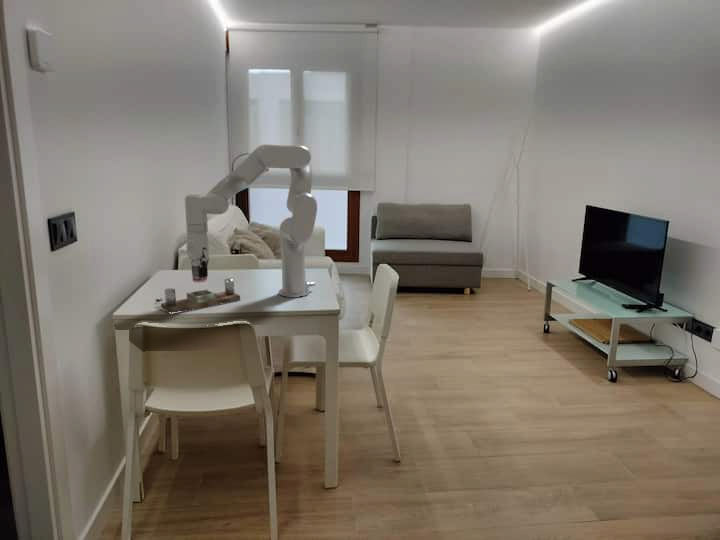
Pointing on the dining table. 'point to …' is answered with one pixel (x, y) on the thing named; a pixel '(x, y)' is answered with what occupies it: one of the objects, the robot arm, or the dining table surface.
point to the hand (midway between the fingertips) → (199, 274)
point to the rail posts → (171, 296)
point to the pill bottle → (197, 272)
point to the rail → (200, 300)
